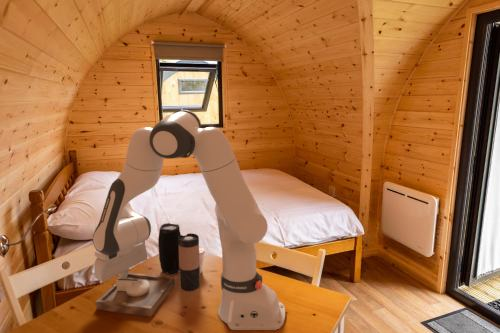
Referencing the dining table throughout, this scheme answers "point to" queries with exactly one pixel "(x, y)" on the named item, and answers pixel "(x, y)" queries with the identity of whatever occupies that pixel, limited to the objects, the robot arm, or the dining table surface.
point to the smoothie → (201, 257)
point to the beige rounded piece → (133, 286)
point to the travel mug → (189, 262)
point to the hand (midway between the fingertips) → (124, 280)
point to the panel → (140, 304)
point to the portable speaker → (169, 248)
